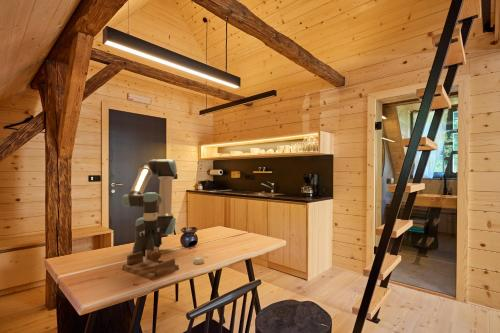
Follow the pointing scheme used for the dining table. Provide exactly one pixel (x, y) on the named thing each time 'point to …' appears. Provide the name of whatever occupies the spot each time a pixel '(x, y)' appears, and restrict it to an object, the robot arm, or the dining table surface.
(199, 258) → the beige round lump
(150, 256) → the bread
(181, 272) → the dining table surface
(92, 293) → the dining table surface
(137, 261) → the cradle
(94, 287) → the dining table surface
